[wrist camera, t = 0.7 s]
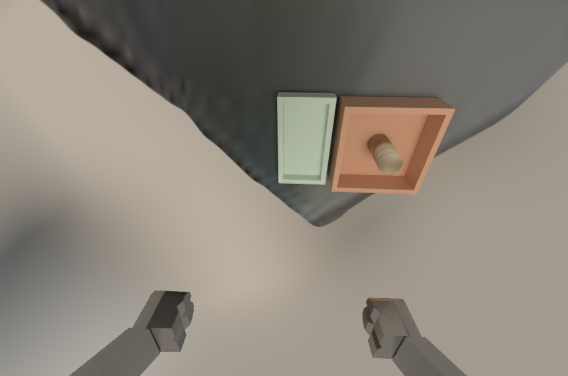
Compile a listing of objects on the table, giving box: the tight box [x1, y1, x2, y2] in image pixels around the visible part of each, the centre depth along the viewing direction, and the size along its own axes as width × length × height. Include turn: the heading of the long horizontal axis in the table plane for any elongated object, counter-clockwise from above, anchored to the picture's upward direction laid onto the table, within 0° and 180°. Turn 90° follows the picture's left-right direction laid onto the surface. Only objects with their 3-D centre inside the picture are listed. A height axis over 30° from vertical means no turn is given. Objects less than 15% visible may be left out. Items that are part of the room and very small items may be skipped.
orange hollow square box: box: [329, 96, 455, 194], centre depth 43 cm, size 17×17×6 cm
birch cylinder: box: [367, 134, 403, 174], centre depth 42 cm, size 4×4×8 cm
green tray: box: [277, 92, 337, 184], centre depth 45 cm, size 18×10×3 cm, turn 0°
